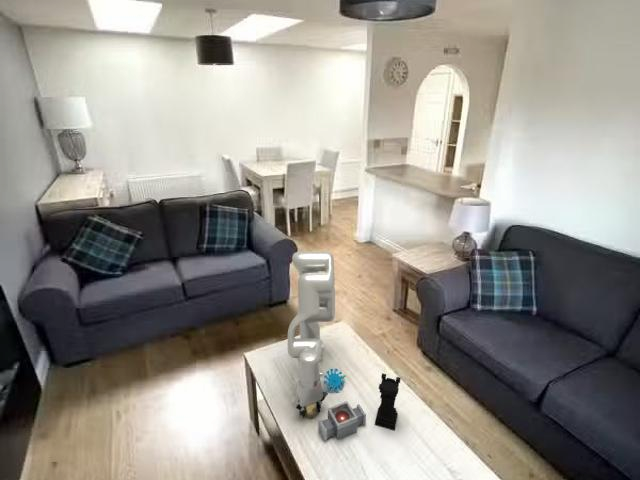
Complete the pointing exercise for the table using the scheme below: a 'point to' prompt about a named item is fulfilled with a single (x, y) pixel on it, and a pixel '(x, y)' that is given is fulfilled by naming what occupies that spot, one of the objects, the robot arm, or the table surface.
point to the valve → (341, 421)
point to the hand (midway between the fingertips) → (310, 412)
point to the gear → (334, 380)
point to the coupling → (310, 411)
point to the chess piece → (387, 403)
